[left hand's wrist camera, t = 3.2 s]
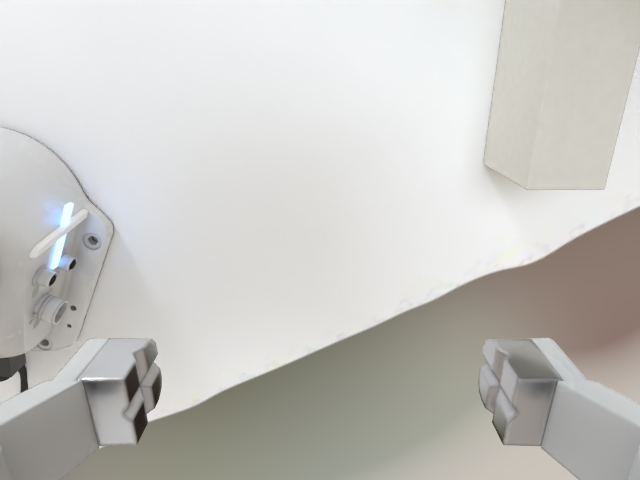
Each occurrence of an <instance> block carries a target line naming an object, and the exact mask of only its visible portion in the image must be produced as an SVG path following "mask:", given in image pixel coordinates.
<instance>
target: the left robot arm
mask: <svg viewBox="0 0 640 480" xmlns="http://www.w3.org/2000/svg"><path fill="white" fill-rule="evenodd" d="M112 235H113V225H112V223H111V221H110V220H109V219H108V218H107V217H106V216H105V215H104V214H103V213H102V212H101V211H100V210H99V209H98V208H97V207H96V206H94V205H93V204H92V203H91V202H90V201H89V200H88V198H87V197H86V195H85V194H84V192H83V190H82V188H81V187H80V185H79V183H78V181H77V180H76V178H75V177H74V175H73V174H72V172H71V171H70V170H69V168H68V167H67V166H66V165H65V164H64V163H63V161H62V160H61V159H60V158H59V157H58V156H56V155H55V154H54V153H53V152H52V151H51V150H49V149H48V148H47V147H45V146H44V145H42V144H41V143H39V142H38V141H36V140H34V139H33V138H31V137H29V136H27V135H24V134H22V133H19V132H17V131H14V130H10V129H6V128H2V127H0V381H5V380H7V379H9V378H10V377H12V376H13V375H14V374H15V373H16V372H17V371H19V373H20V377H21V393H20V394H18V395H16V396H14V397H12V398H10V399H8V400H6V401H4V402H2V403H0V480H62V479H63V478H64V477H65V476H66V475H68V474H69V473H70V472H71V471H72V470H74V469H75V468H76V467H77V466H78V465H79V464H81V463H82V462H83V461H84V460H85V459H87V458H88V457H89V456H90V455H91V454H92V453H94V452H95V451H96V450H97V449H98V448H99V446H118V445H137V443H138V441H139V439H140V437H141V435H142V433H143V431H144V429H145V427H146V425H147V423H148V421H147V415H146V414H147V413H149V412H150V411H151V410H153V409H154V408H155V406H156V404H157V402H158V400H159V396H160V391H161V379H162V377H161V371H160V368H159V367H158V366H157V365H156V364H155V363H154V362H153V361H154V360H155V358H156V356H157V354H158V353H157V348H156V343H155V342H154V341H153V340H152V339H126V338H112V339H111V338H92V339H88V340H87V341H86V342H85V343H84V344H83V345H82V346H81V347H80V349H79V350H78V351H77V352H76V353H75V354H74V356H73V357H72V358H71V359H70V360H69V361H68V362H67V364H66V365H65V366H64V367H63V368H62V369H61V371H60V372H59V373H58V374H57V375H56V376H55V378H54V379H53V380H52V381H44V382H42V383H40V384H38V385H36V386H34V387H32V388H30V389H28V383H27V371H26V368H25V366H24V364H25V363H26V358H25V353H26V352H28V351H51V350H58V349H63V348H66V347H69V346H71V345H72V344H73V343H74V342H76V341H77V339H78V337H79V334H80V331H81V328H82V325H83V322H84V319H85V316H86V313H87V310H88V307H89V304H90V301H91V298H92V295H93V292H94V289H95V286H96V283H97V280H98V277H99V274H100V271H101V268H102V265H103V262H104V259H105V256H106V253H107V250H108V247H109V244H110V241H111V238H112ZM92 236H93V237H95V238H97V240H98V242H95V241H94V240H93V239H92ZM45 339H46V340H47V341H48V342H47V341H46V340H45ZM482 354H483V356H484V358H485V359H486V361H487V362H486V363H485V364H484V365H483V366H482V367H481V368H480V371H479V379H478V382H479V393H480V396H481V400H482V402H483V404H484V406H485V408H486V409H487V410H489V411H490V412H491V413H493V414H494V416H493V421H492V423H493V425H494V427H495V429H496V431H497V433H498V435H499V437H500V439H501V441H502V443H503V445H520V446H541V448H542V449H543V450H544V451H545V452H547V453H548V454H549V455H550V456H551V457H552V458H554V459H555V460H556V461H557V462H558V463H560V464H561V465H562V466H563V467H564V468H565V469H567V470H568V471H569V472H570V473H571V474H573V475H574V476H575V477H576V478H577V479H578V480H640V403H638V402H636V401H634V400H632V399H630V398H628V397H626V396H624V395H622V394H620V393H618V392H616V391H614V390H612V389H610V388H608V387H606V386H604V385H602V384H600V383H598V382H596V381H588V380H587V379H586V378H585V376H584V375H583V374H582V373H581V372H580V371H579V369H578V368H577V367H576V366H575V365H574V364H573V363H572V361H571V360H570V359H569V358H568V357H567V356H566V354H565V353H564V352H563V351H562V350H561V349H560V347H559V346H558V345H557V344H556V343H555V342H554V341H553V340H552V339H550V338H529V339H493V340H486V342H485V344H484V347H483V353H482Z"/></svg>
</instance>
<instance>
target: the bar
mask: <svg viewBox="0 0 640 480" xmlns="http://www.w3.org/2000/svg"><path fill="white" fill-rule="evenodd" d="M639 48H640V0H506V3H505V10H504V17H503V25H502V32H501V39H500V46H499V53H498V60H497V68H496V75H495V82H494V89H493V96H492V104H491V111H490V118H489V125H488V132H487V140H486V147H485V154H484V161H483V164H484V165H486V166H488V167H489V168H491V169H493V170H494V171H496V172H498V173H499V174H501V175H503V176H504V177H506V178H508V179H510V180H511V181H513V182H515V183H516V184H518V185H520V186H521V187H523V188H525V189H526V190H604V189H605V185H606V181H607V177H608V173H609V169H610V165H611V161H612V157H613V153H614V149H615V145H616V141H617V137H618V133H619V129H620V125H621V121H622V117H623V112H624V108H625V104H626V100H627V96H628V92H629V88H630V84H631V80H632V76H633V72H634V68H635V64H636V60H637V56H638V52H639Z"/></svg>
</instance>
